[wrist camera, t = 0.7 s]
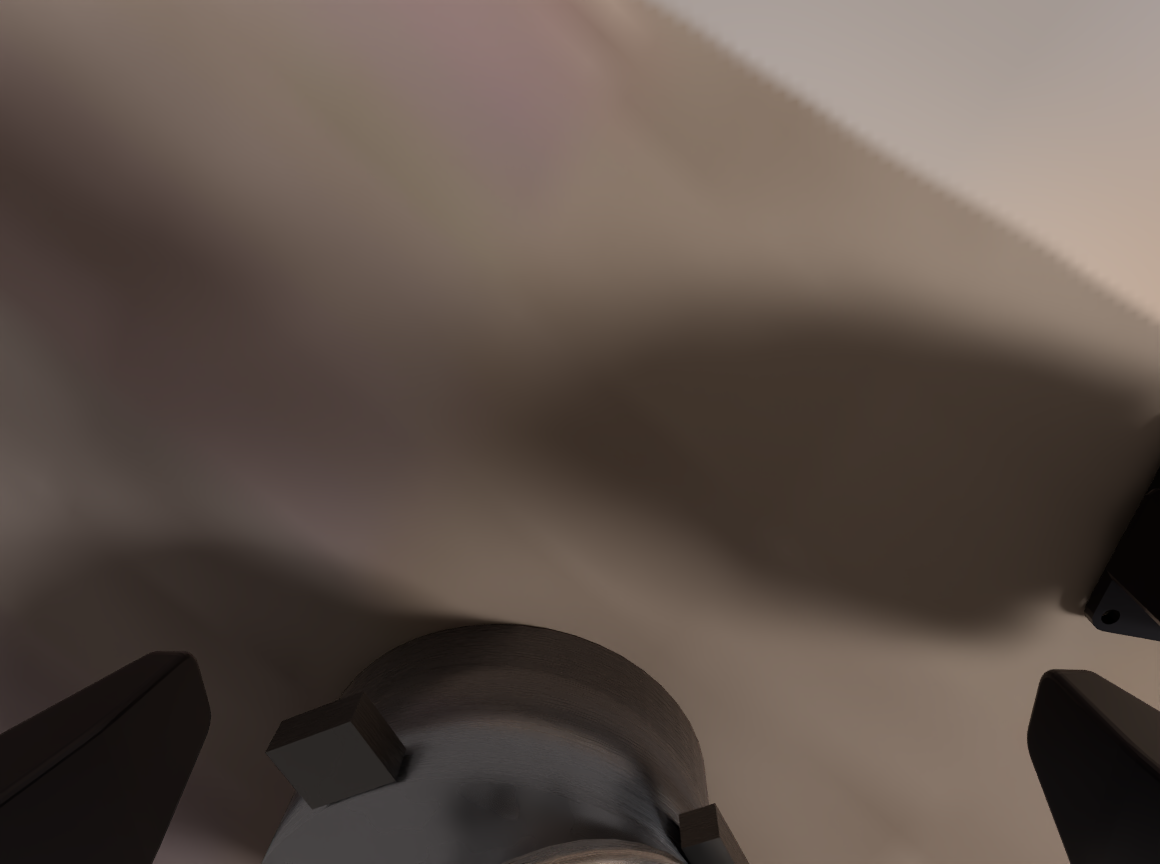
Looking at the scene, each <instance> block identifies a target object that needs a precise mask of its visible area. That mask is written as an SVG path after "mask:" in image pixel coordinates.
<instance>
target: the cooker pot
mask: <svg viewBox="0 0 1160 864" xmlns="http://www.w3.org/2000/svg"><path fill="white" fill-rule="evenodd" d="M265 753H266V754H267V755H268V757H269V758H270V759H271V760H272V762H273V763H274V764H275V765H276V766H277V768H278V769H279V770H280V771H281V772H282V774H283V775H284V776H285V777H286V778H287V780H288V781H289V782H290V783H291V785H292V786H293V787H294V788H295V789H296V790H295V793H294V795H293V797H292V799H291V801H290V803H289V805H288V808H287V810H286V812H285V814H284V816H283V818H282V820H281V823H280V825H279V827H278V829H277V831H276V833H275V835H274V837H273V840H272V842H271V844H270V846H269V848H268V850H267V852H266V855H265V857H264V859H263V861H262V863H261V864H502V863H504V862H506V861H508V860H510V859H513V858H516V857H519V856H522V855H525V854H528V853H530V852H533V851H536V850H539V849H542V848H545V847H548V846H553V845H558V844H563V843H568V842H573V841H578V840H589V839H619V840H626V841H633V842H639V843H643V844H646V845H649V846H652V847H655V848H657V849H660V850H663V851H666V852H668V853H669V854H671V855H673V856H674V857H676V858H678V859H679V860H681V861H682V862H684V863H686V864H749V863H748V861H747V859H746V857H745V855H744V854H743V852H742V850H741V848H740V847H739V845H738V843H737V841H736V839H735V838H734V836H733V834H732V832H731V831H730V829H729V827H728V825H727V823H726V822H725V820H724V818H723V816H722V815H721V813H720V811H719V809H718V807H717V806H716V804H715V803H714V804H711V805H709V799H708V791H707V783H706V776H705V768H704V760H703V757H702V753H701V749H700V745H699V741H698V739H697V737H696V735H695V733H694V730H693V728H692V726H691V724H690V722H689V720H688V719H687V717H686V716H685V714H684V713H683V711H682V710H681V708H680V707H679V705H678V704H677V703H676V702H675V700H674V699H673V698H672V697H671V696H670V695H669V694H668V692H667V691H666V690H665V689H664V688H663V687H662V686H661V685H660V684H659V683H657V682H656V681H655V680H654V679H653V678H652V677H650V676H649V675H648V674H647V673H646V672H645V671H643V670H642V669H640V668H639V667H637V666H636V665H634V664H633V663H631V662H630V661H628V660H627V659H625V658H624V657H622V656H620V655H618V654H616V653H614V652H612V651H610V650H608V649H606V648H604V647H602V646H600V645H597V644H595V643H592V642H589V641H587V640H584V639H581V638H579V637H576V636H573V635H569V634H565V633H561V632H557V631H553V630H549V629H543V628H536V627H529V626H522V625H496V624H491V625H478V626H465V627H460V628H455V629H449V630H444V631H439V632H436V633H433V634H430V635H427V636H423V637H420V638H417V639H414V640H412V641H410V642H408V643H406V644H404V645H401V646H399V647H397V648H395V649H393V650H391V651H390V652H388V653H387V654H385V655H383V656H382V657H380V658H379V659H377V660H376V661H374V662H373V663H372V664H371V665H369V666H368V667H367V668H366V669H365V670H364V671H362V672H361V673H360V674H359V675H358V676H357V677H356V678H355V679H354V680H353V682H352V683H351V684H350V685H349V686H348V687H347V689H346V690H345V691H344V692H343V694H342V696H341V697H340V699H339V700H338V701H335V702H332V703H330V704H327V705H324V706H322V707H319V708H316V709H314V710H311V711H308V712H306V713H303V714H300V715H298V716H295V717H292V718H290V719H287V720H284V721H282V722H281V724H280V726H279V728H278V730H277V732H276V734H275V735H274V737H273V739H272V741H271V743H270V745H269V747H268V748H267V750H266V752H265Z"/></svg>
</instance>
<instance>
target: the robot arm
mask: <svg viewBox="0 0 1160 864" xmlns="http://www.w3.org/2000/svg"><path fill="white" fill-rule="evenodd" d="M1108 610H1111V611H1110V612H1109V613H1108V614H1106V615H1104V616H1102V615H1103V614H1104V613H1105V612H1106V611H1108ZM1084 612H1085V616H1086V617H1087V618H1088V620H1089V621H1090V622H1091V623H1092V624H1093V625H1094V626H1095V627H1096V628H1097V629H1099V630H1101V631H1105V632H1111V633H1116V634H1122V635H1128V636H1133V637H1139V638H1145V639H1150V640H1156V641H1160V468H1159V470H1158V472H1157V473H1156V475H1155V477H1154V479H1153V481H1152V483H1151V485H1150V486H1149V488H1148V490H1147V492H1146V494H1145V496H1144V498H1143V500H1142V501H1141V503H1140V505H1139V507H1138V509H1137V511H1136V513H1135V515H1134V516H1133V518H1132V520H1131V522H1130V524H1129V526H1128V528H1127V530H1126V531H1125V533H1124V535H1123V537H1122V539H1121V541H1120V543H1119V544H1118V546H1117V548H1116V550H1115V552H1114V554H1113V556H1112V558H1111V559H1110V561H1109V563H1108V565H1107V567H1106V569H1105V571H1104V573H1103V574H1102V576H1101V578H1100V580H1099V582H1098V584H1097V586H1096V588H1095V589H1094V591H1093V593H1092V595H1091V597H1090V599H1089V601H1088V603H1087V604H1086V607H1085V610H1084ZM210 719H211V712H210V706H209V702H208V699H207V695H206V691H205V688H204V684H203V680H202V677H201V673H200V669H199V666H198V663H197V660H196V658H195V657H194V656H193V655H192V654H191V653H188V652H183V651H155V652H151V653H149V654H147V655H145V656H143V657H141V658H140V659H138V660H136V661H134V662H132V663H130V664H129V665H127V666H125V667H123V668H121V669H119V670H117V671H116V672H114V673H112V674H110V675H108V676H106V677H105V678H103V679H101V680H99V681H97V682H95V683H94V684H92V685H90V686H88V687H86V688H84V689H83V690H81V691H79V692H77V693H75V694H73V695H72V696H70V697H68V698H66V699H64V700H62V701H61V702H59V703H57V704H55V705H53V706H51V707H50V708H48V709H46V710H44V711H42V712H40V713H39V714H37V715H35V716H33V717H31V718H29V719H28V720H26V721H24V722H22V723H20V724H18V725H17V726H15V727H13V728H11V729H9V730H7V731H6V732H4V733H2V734H0V864H152V863H153V861H154V858H155V856H156V854H157V852H158V850H159V847H160V845H161V843H162V840H163V838H164V836H165V833H166V831H167V829H168V826H169V824H170V821H171V819H172V817H173V814H174V812H175V810H176V807H177V805H178V802H179V800H180V798H181V795H182V793H183V791H184V788H185V786H186V783H187V781H188V779H189V776H190V774H191V771H192V769H193V767H194V764H195V762H196V760H197V757H198V755H199V752H200V750H201V748H202V745H203V743H204V741H205V738H206V736H207V733H208V730H209V726H210ZM1027 744H1028V750H1029V754H1030V757H1031V760H1032V763H1033V765H1034V768H1035V771H1036V773H1037V776H1038V779H1039V781H1040V784H1041V787H1042V789H1043V792H1044V795H1045V797H1046V800H1047V803H1048V805H1049V808H1050V811H1051V813H1052V816H1053V819H1054V821H1055V824H1056V827H1057V829H1058V832H1059V835H1060V837H1061V840H1062V843H1063V845H1064V848H1065V851H1066V853H1067V856H1068V858H1069V861H1070V864H1160V711H1158V710H1156V709H1155V708H1153V707H1151V706H1150V705H1148V704H1146V703H1145V702H1143V701H1141V700H1140V699H1138V698H1136V697H1135V696H1133V695H1131V694H1130V693H1128V692H1126V691H1125V690H1123V689H1121V688H1120V687H1118V686H1116V685H1114V684H1113V683H1111V682H1109V681H1108V680H1106V679H1104V678H1103V677H1101V676H1099V675H1098V674H1096V673H1094V672H1091V671H1087V670H1065V669H1052V670H1049V671H1047V672H1045V673H1044V674H1043V676H1042V677H1041V680H1040V682H1039V686H1038V690H1037V694H1036V698H1035V702H1034V706H1033V710H1032V714H1031V718H1030V722H1029V726H1028V732H1027Z"/></svg>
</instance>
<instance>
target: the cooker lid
mask: <svg viewBox="0 0 1160 864" xmlns="http://www.w3.org/2000/svg"><path fill="white" fill-rule="evenodd" d="M502 864H686V863H684V862H682V861H681V860H679V859H678V858H676V857H674V856H673V855H671V854H669V853H668V852H666V851H663V850H660V849H657V848H655V847H652V846H649V845H646V844H643V843H639V842H633V841H626V840H619V839H589V840H578V841H573V842H568V843H563V844H558V845H553V846H548V847H545V848H542V849H539V850H536V851H533V852H530V853H528V854H525V855H522V856H519V857H516V858H513V859H510V860H508V861H506V862H504V863H502Z"/></svg>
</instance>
